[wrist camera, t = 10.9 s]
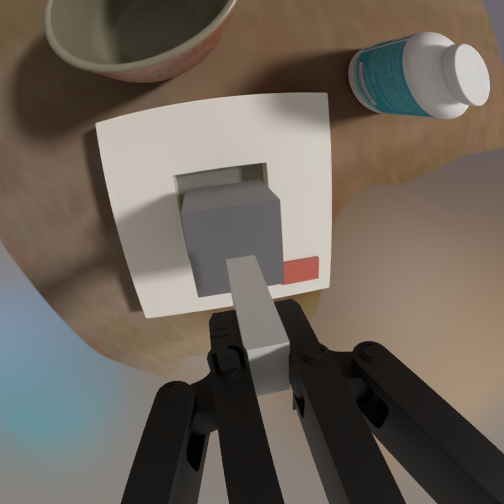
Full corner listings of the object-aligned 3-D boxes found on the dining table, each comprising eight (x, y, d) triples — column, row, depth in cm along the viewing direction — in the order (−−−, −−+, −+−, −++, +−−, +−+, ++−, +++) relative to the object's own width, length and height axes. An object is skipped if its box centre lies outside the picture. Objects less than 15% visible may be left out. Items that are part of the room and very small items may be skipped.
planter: (187, -38, 16) (185, -100, 6) (252, 47, 21) (284, 5, 11) (76, 29, 17) (21, -5, 7) (135, 117, 22) (92, 116, 13)
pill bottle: (380, 127, 26) (478, 146, 14) (331, 79, 23) (425, 63, 11) (411, 82, 24) (506, 85, 12) (367, 35, 21) (460, 9, 9)
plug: (187, 180, 25) (180, 214, 17) (252, 171, 26) (280, 199, 17) (197, 239, 28) (198, 297, 19) (257, 230, 29) (284, 283, 20)
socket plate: (104, 122, 22) (93, 123, 19) (316, 94, 24) (329, 92, 21) (149, 304, 31) (145, 321, 28) (321, 276, 33) (330, 289, 30)
